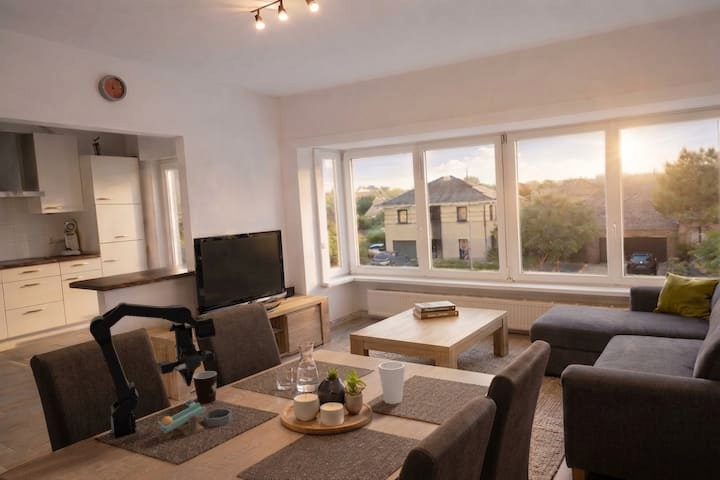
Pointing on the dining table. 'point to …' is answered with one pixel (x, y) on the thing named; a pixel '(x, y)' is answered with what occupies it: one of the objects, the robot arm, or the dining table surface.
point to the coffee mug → (205, 386)
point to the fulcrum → (184, 429)
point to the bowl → (217, 417)
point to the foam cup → (392, 381)
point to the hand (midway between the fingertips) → (188, 386)
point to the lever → (183, 415)
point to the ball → (167, 421)
